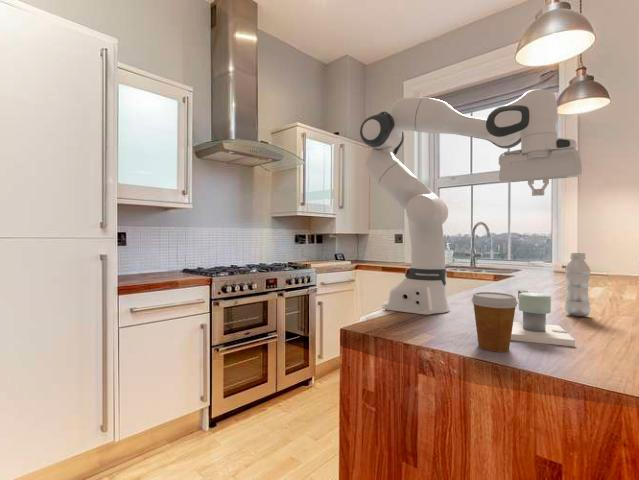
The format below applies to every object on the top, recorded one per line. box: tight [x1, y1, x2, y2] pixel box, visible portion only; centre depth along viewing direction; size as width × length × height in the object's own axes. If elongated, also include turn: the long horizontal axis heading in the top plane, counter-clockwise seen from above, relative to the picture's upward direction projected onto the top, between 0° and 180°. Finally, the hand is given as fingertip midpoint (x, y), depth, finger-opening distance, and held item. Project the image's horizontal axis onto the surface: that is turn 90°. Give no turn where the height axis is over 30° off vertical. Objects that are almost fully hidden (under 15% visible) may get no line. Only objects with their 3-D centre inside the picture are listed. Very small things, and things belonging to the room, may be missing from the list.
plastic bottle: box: [564, 252, 592, 318], centre depth 111 cm, size 6×7×20 cm
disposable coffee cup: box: [470, 291, 519, 353], centre depth 80 cm, size 10×10×12 cm
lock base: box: [510, 311, 576, 347], centre depth 90 cm, size 14×14×6 cm
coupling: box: [517, 289, 552, 315], centre depth 94 cm, size 17×7×4 cm, turn 162°
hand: (538, 195), depth 101 cm, fingers closed
